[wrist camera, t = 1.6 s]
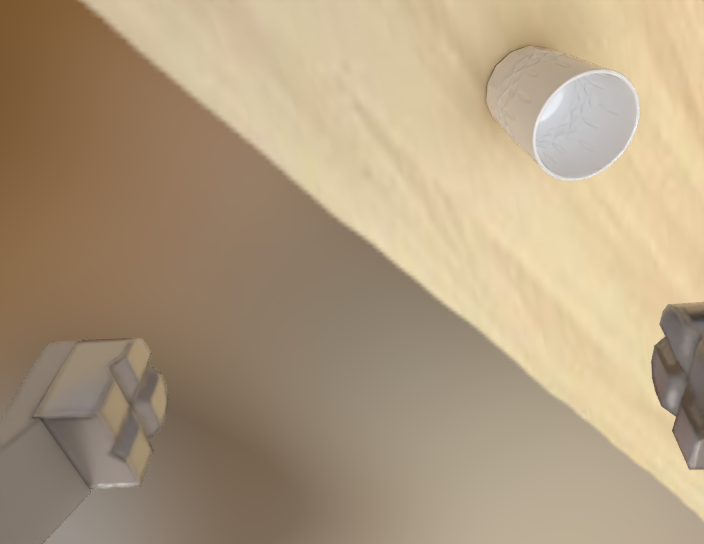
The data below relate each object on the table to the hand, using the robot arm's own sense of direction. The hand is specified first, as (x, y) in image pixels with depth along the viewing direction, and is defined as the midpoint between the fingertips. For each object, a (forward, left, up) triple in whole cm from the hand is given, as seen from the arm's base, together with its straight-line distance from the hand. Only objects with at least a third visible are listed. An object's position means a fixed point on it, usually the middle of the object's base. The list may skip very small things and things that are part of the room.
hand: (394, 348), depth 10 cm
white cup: (+23, +3, -40) cm, 46 cm away
